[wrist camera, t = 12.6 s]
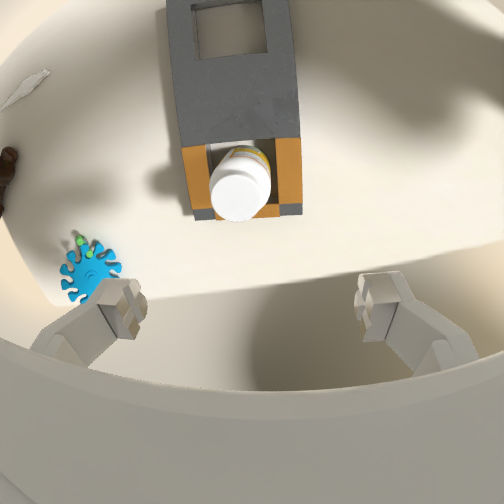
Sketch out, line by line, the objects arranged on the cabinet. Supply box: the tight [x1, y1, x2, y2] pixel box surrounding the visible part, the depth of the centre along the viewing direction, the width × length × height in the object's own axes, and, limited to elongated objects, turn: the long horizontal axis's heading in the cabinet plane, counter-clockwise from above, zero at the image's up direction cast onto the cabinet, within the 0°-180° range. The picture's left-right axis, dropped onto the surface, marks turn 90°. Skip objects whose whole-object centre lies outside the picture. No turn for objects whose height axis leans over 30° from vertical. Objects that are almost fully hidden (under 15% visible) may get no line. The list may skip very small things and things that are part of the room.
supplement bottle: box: [209, 145, 271, 222], centre depth 25 cm, size 5×5×10 cm
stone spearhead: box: [0, 69, 50, 112], centre depth 22 cm, size 15×3×2 cm, turn 98°
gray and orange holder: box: [166, 0, 303, 221], centre depth 24 cm, size 12×26×2 cm, turn 5°
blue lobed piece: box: [60, 236, 122, 304], centre depth 35 cm, size 11×6×10 cm
